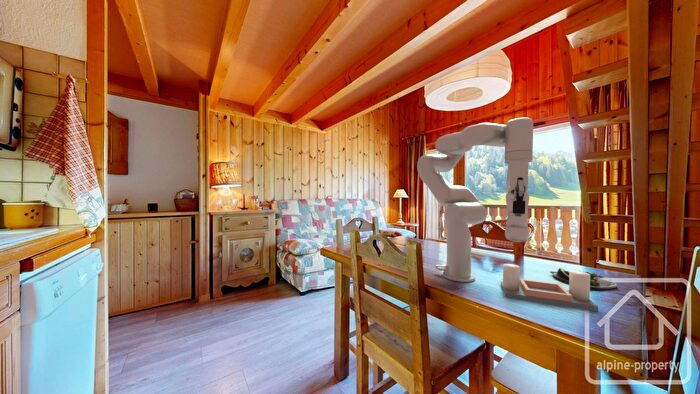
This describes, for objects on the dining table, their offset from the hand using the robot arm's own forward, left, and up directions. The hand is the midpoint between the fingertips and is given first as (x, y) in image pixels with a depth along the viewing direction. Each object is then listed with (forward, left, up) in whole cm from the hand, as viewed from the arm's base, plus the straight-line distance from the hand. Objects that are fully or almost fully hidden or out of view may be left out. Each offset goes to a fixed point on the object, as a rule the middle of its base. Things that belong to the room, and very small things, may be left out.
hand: (517, 212), depth 81 cm
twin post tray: (+9, +9, -29) cm, 32 cm away
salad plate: (+27, +33, -30) cm, 52 cm away
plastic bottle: (0, 0, -10) cm, 10 cm away
